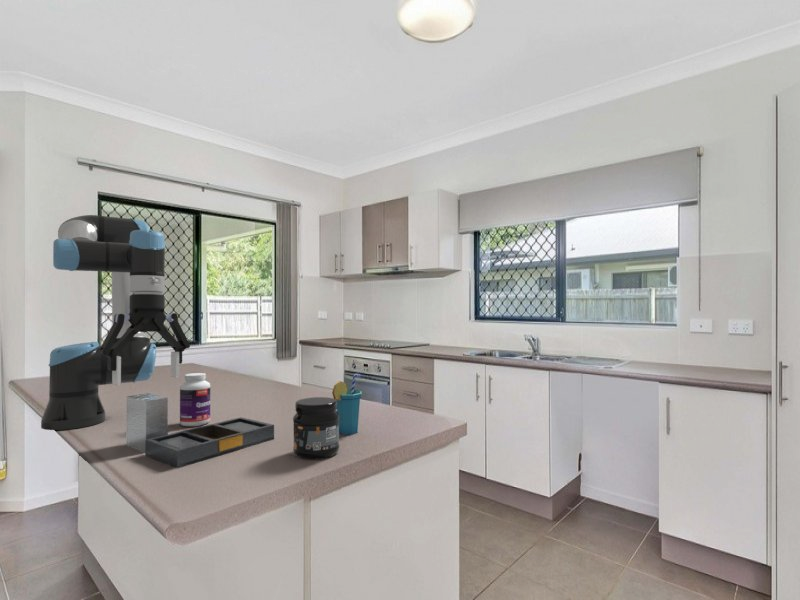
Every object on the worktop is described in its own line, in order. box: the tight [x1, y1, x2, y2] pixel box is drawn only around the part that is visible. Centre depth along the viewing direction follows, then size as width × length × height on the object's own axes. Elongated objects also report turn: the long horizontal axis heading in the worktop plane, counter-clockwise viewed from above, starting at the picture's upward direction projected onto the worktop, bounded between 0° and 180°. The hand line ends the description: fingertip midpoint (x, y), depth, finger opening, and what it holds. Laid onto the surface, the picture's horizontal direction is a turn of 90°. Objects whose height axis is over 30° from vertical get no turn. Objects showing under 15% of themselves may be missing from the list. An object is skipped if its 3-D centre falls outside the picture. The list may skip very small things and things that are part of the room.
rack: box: [144, 416, 275, 469], centre depth 107 cm, size 14×25×4 cm, turn 144°
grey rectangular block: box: [125, 392, 169, 453], centre depth 108 cm, size 10×5×12 cm, turn 54°
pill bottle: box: [179, 372, 211, 428], centre depth 128 cm, size 8×8×14 cm
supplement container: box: [292, 396, 340, 461], centre depth 102 cm, size 10×10×12 cm
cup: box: [331, 373, 362, 436], centre depth 120 cm, size 14×8×15 cm, turn 161°
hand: (147, 380), depth 108 cm, fingers open, 13 cm apart
